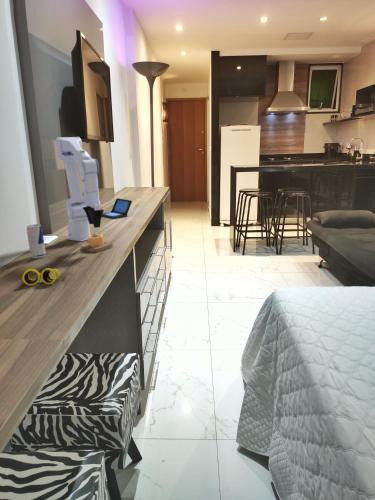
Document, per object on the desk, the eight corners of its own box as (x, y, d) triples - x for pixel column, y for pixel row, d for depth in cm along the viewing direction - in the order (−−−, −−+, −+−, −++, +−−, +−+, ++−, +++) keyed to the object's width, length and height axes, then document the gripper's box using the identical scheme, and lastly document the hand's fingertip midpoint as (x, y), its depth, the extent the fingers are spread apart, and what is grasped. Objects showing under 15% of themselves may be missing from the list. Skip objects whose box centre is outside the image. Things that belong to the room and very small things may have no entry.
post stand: (80, 249, 145) (78, 234, 144) (96, 244, 153) (95, 230, 151) (96, 252, 141) (95, 237, 139) (112, 246, 148) (111, 232, 146)
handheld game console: (99, 216, 215) (97, 200, 212) (118, 213, 224) (116, 198, 221) (114, 219, 204) (113, 203, 202) (133, 216, 213) (132, 200, 211)
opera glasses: (60, 281, 114) (59, 265, 114) (56, 284, 109) (54, 268, 109) (28, 283, 113) (27, 267, 113) (22, 286, 108) (21, 270, 108)
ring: (86, 245, 146) (85, 237, 145) (96, 242, 150) (95, 234, 149) (96, 247, 143) (95, 238, 142) (106, 243, 147) (105, 235, 146)
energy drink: (49, 255, 139) (44, 224, 136) (39, 259, 135) (34, 227, 131) (37, 254, 141) (33, 223, 138) (27, 258, 136) (22, 226, 133)
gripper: (76, 190, 145) (80, 223, 149) (85, 194, 132) (88, 230, 136) (94, 188, 148) (97, 221, 152) (104, 192, 136) (107, 228, 139)
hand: (94, 225), depth 144 cm, fingers open, 7 cm apart
